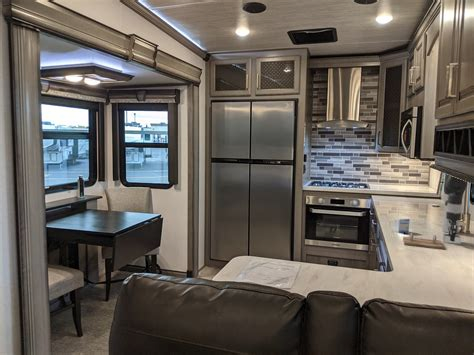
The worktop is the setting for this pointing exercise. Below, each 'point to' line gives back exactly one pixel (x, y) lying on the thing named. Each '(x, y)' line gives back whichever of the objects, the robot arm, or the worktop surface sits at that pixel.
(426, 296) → the worktop surface
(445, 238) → the block
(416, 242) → the pin tray
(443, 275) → the worktop surface
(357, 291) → the worktop surface
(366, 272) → the worktop surface
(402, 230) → the medicine box
